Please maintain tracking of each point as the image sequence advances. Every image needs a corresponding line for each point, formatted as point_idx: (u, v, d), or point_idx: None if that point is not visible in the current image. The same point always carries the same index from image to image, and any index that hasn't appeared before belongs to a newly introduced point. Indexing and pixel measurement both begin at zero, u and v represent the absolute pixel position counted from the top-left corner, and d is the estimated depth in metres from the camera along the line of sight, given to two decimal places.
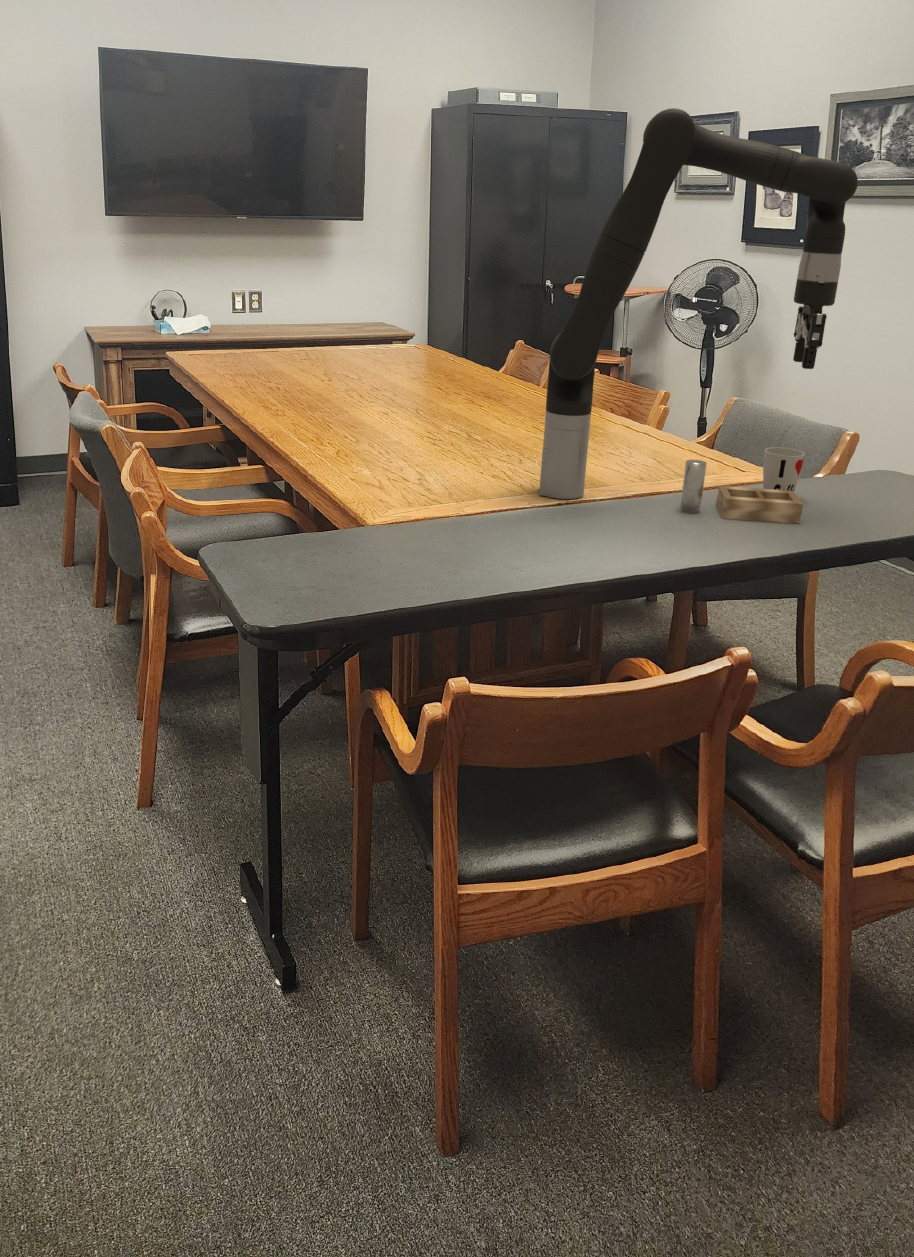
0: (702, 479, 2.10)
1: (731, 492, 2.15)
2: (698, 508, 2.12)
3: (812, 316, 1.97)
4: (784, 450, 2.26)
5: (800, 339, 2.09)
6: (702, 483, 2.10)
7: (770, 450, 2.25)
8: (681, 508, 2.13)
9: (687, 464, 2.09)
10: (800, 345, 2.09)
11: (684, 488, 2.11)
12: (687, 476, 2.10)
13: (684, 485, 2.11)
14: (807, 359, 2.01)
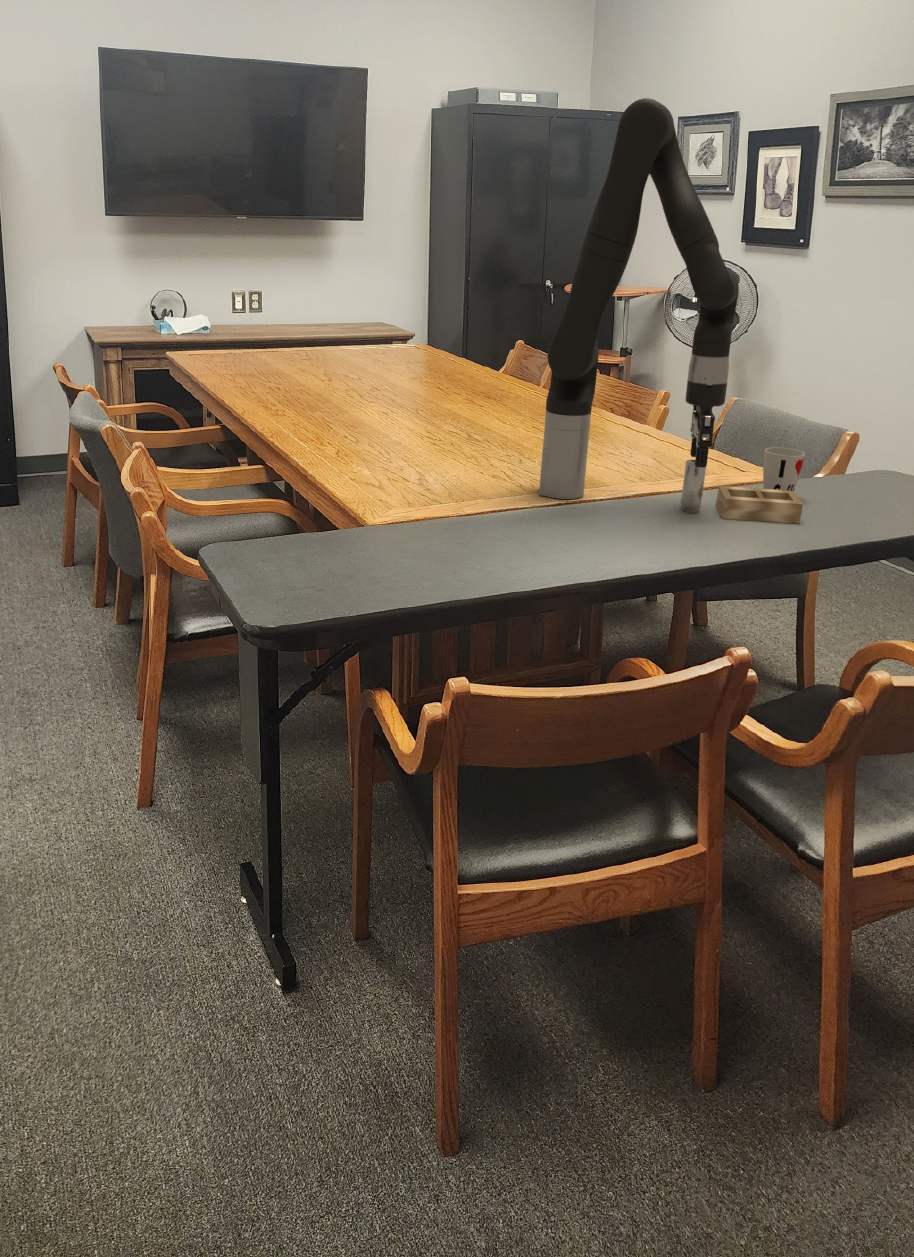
0: (702, 479, 2.10)
1: (731, 492, 2.15)
2: (698, 508, 2.12)
3: (701, 418, 2.00)
4: (784, 450, 2.26)
5: None
6: (702, 483, 2.10)
7: (770, 450, 2.25)
8: (681, 508, 2.13)
9: (687, 464, 2.09)
10: (696, 441, 2.12)
11: (684, 488, 2.11)
12: (687, 476, 2.10)
13: (684, 485, 2.11)
14: (699, 458, 2.04)
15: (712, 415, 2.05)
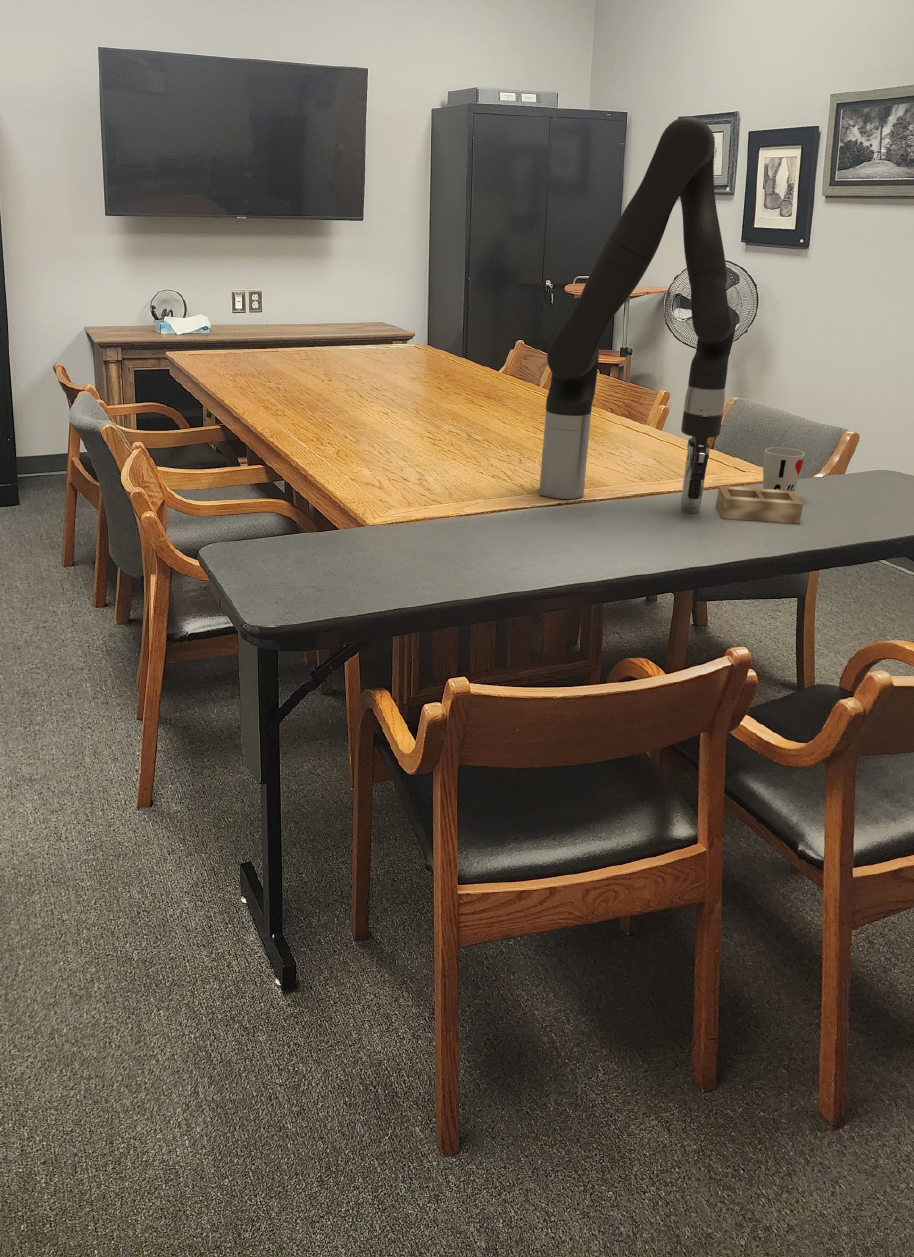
0: None
1: (731, 492, 2.15)
2: (698, 508, 2.12)
3: (695, 456, 2.03)
4: (784, 450, 2.26)
5: None
6: (702, 483, 2.10)
7: (770, 450, 2.25)
8: (681, 508, 2.13)
9: (687, 464, 2.09)
10: None
11: (684, 488, 2.11)
12: (687, 476, 2.10)
13: (684, 485, 2.11)
14: (692, 490, 2.09)
15: (707, 446, 2.07)
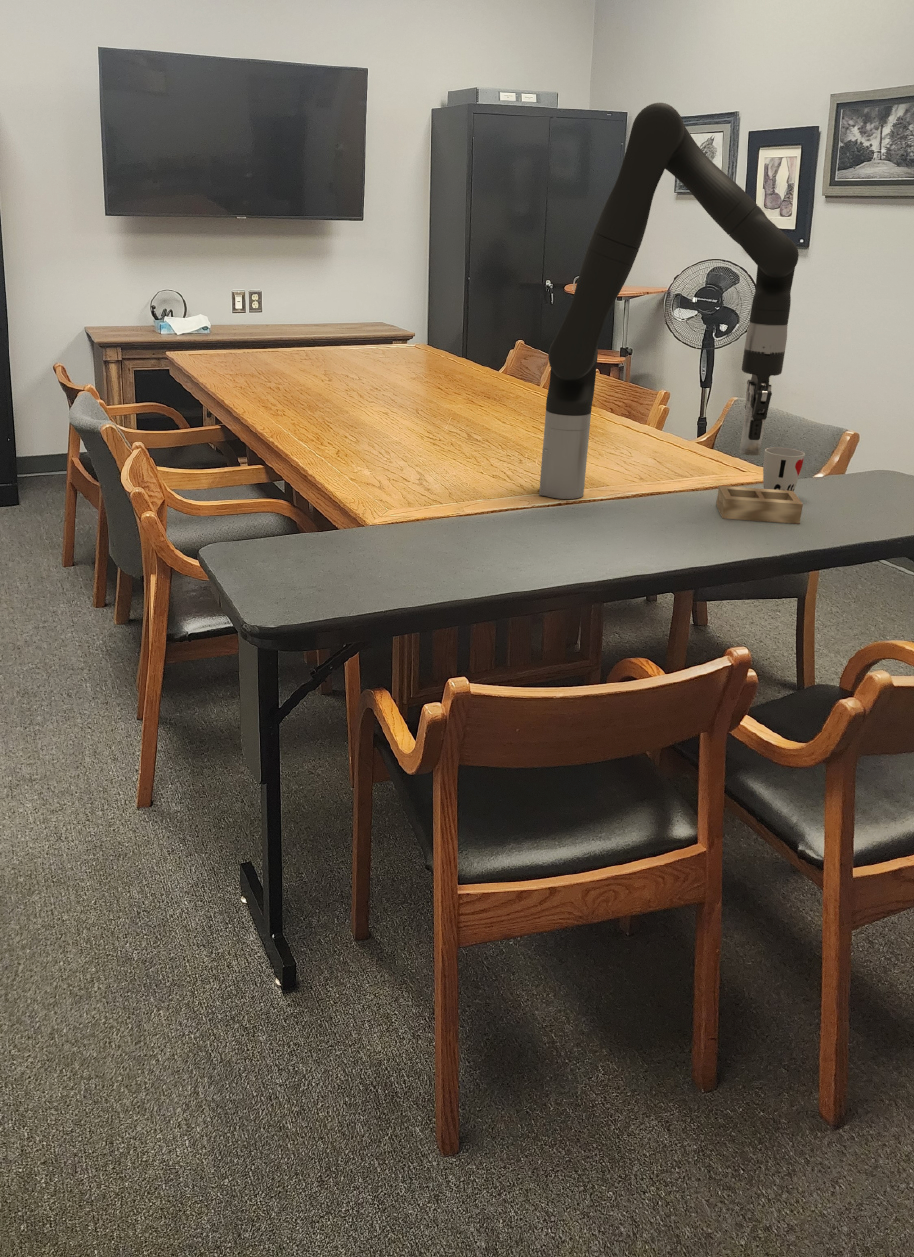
0: None
1: (731, 492, 2.15)
2: (758, 449, 2.07)
3: (757, 394, 1.99)
4: (784, 450, 2.26)
5: None
6: (763, 424, 2.06)
7: (770, 450, 2.25)
8: (741, 450, 2.08)
9: (748, 404, 2.05)
10: None
11: (744, 429, 2.07)
12: (748, 417, 2.05)
13: (744, 426, 2.07)
14: (753, 431, 2.04)
15: (769, 385, 2.02)
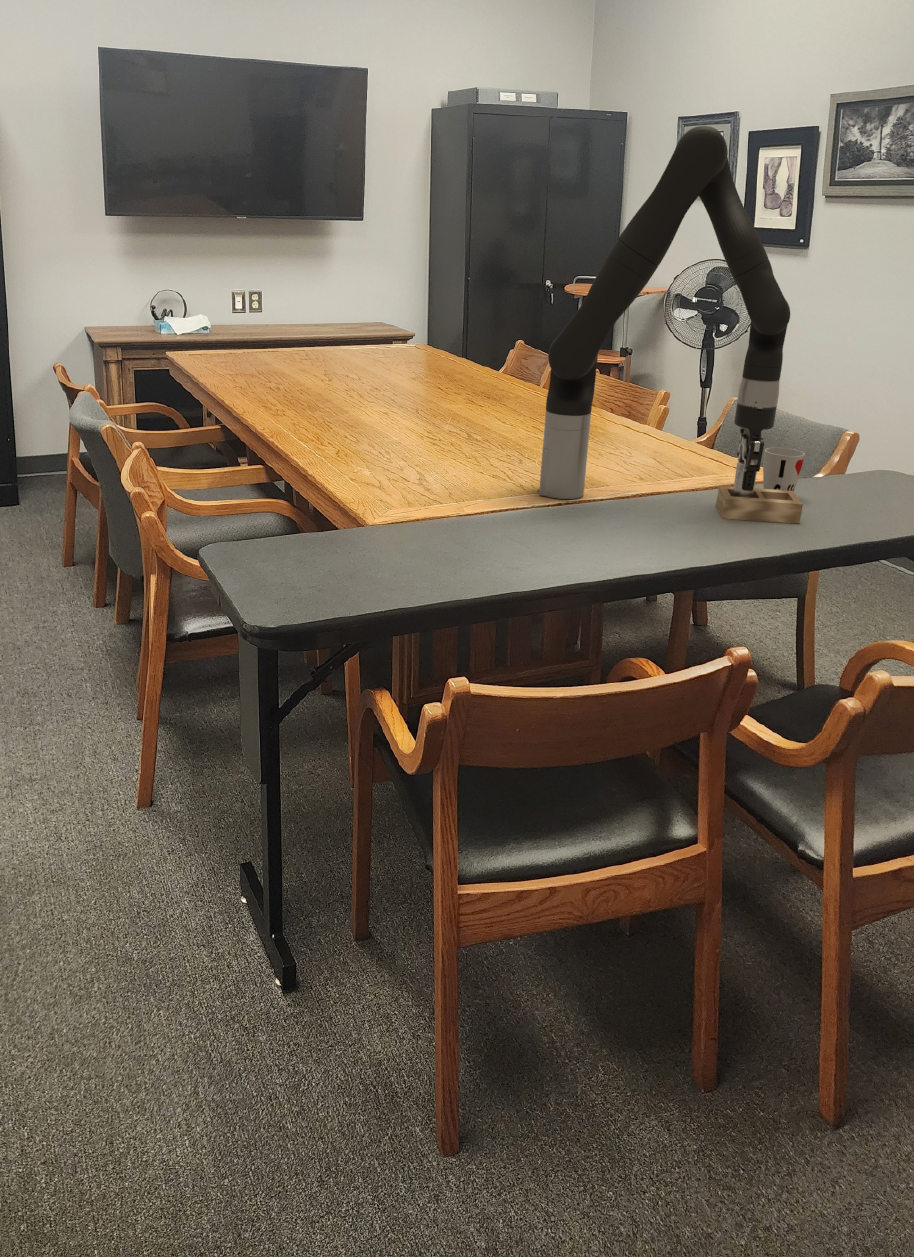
0: None
1: (731, 492, 2.15)
2: None
3: (750, 444, 2.02)
4: (784, 450, 2.26)
5: (742, 460, 2.13)
6: None
7: (770, 450, 2.25)
8: None
9: (738, 466, 2.10)
10: None
11: (735, 490, 2.11)
12: (738, 478, 2.10)
13: (735, 487, 2.11)
14: (746, 482, 2.07)
15: (761, 438, 2.06)
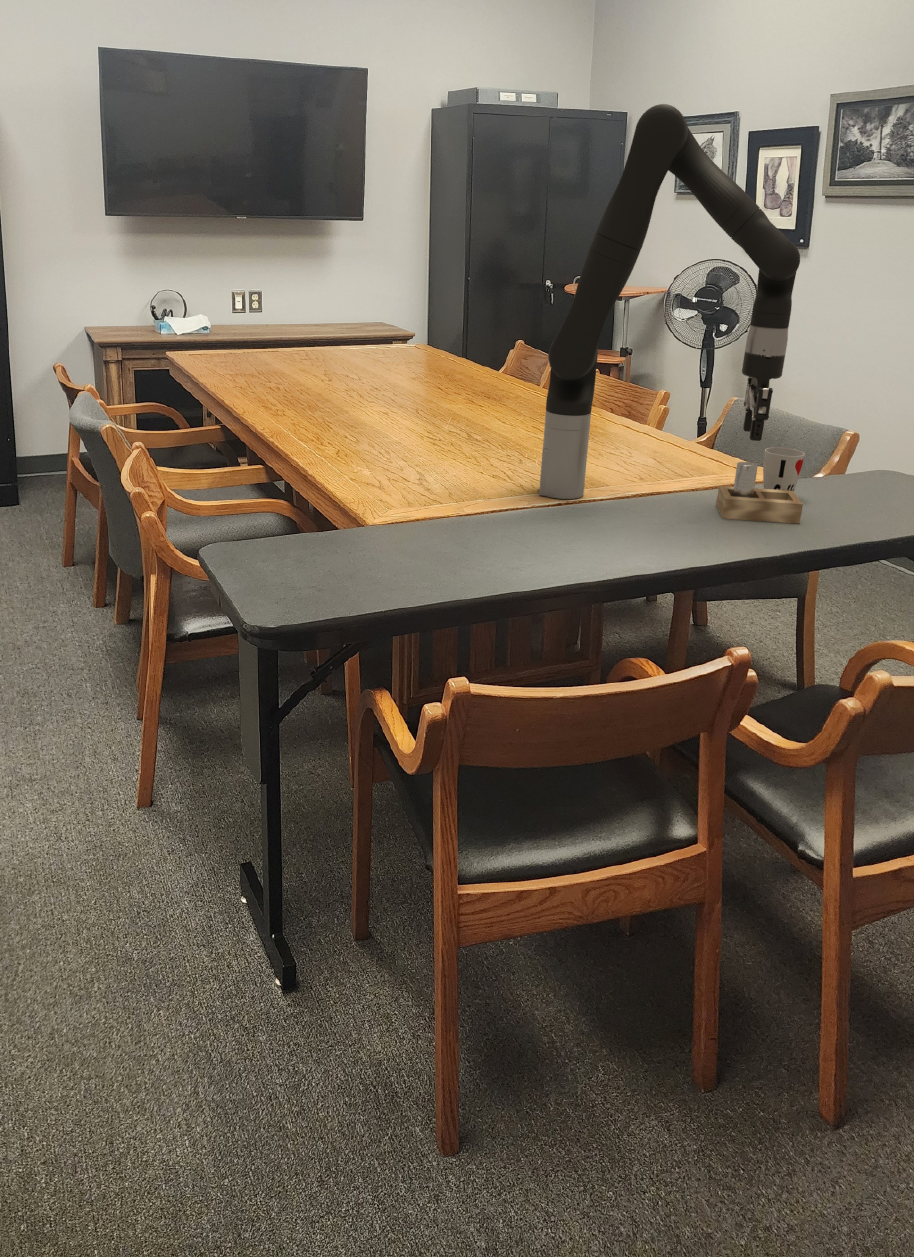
0: (753, 481, 2.10)
1: (731, 492, 2.15)
2: None
3: (758, 390, 1.98)
4: (784, 450, 2.26)
5: (749, 409, 2.10)
6: (753, 485, 2.10)
7: (770, 450, 2.25)
8: None
9: (738, 466, 2.10)
10: (749, 415, 2.10)
11: (735, 490, 2.11)
12: (739, 478, 2.10)
13: (735, 487, 2.11)
14: (754, 431, 2.02)
15: None
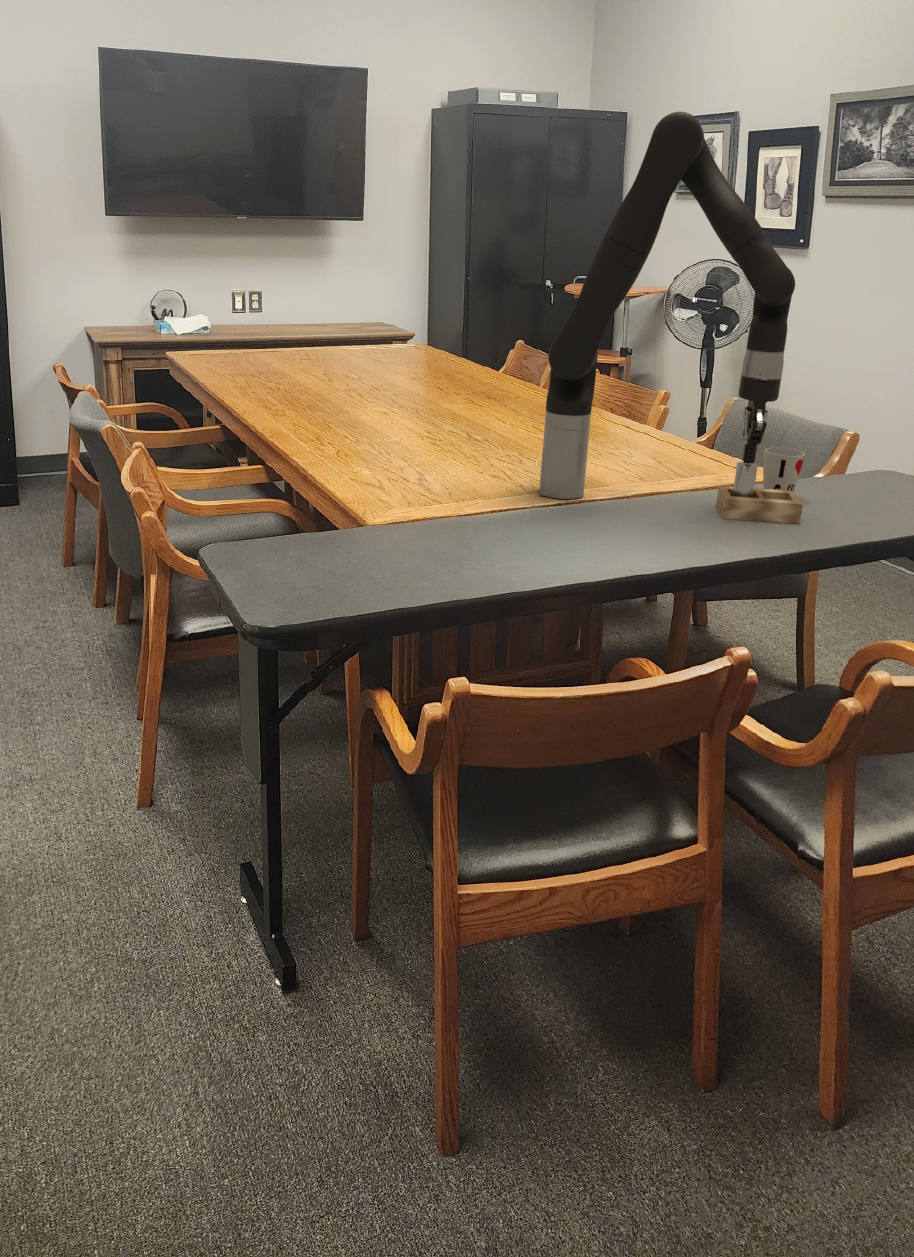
0: (753, 481, 2.10)
1: (731, 492, 2.15)
2: None
3: (752, 424, 2.01)
4: (784, 450, 2.26)
5: None
6: (753, 485, 2.10)
7: (770, 450, 2.25)
8: None
9: (738, 466, 2.10)
10: None
11: (735, 490, 2.11)
12: (738, 478, 2.10)
13: (735, 487, 2.11)
14: (747, 454, 2.08)
15: (765, 412, 2.04)
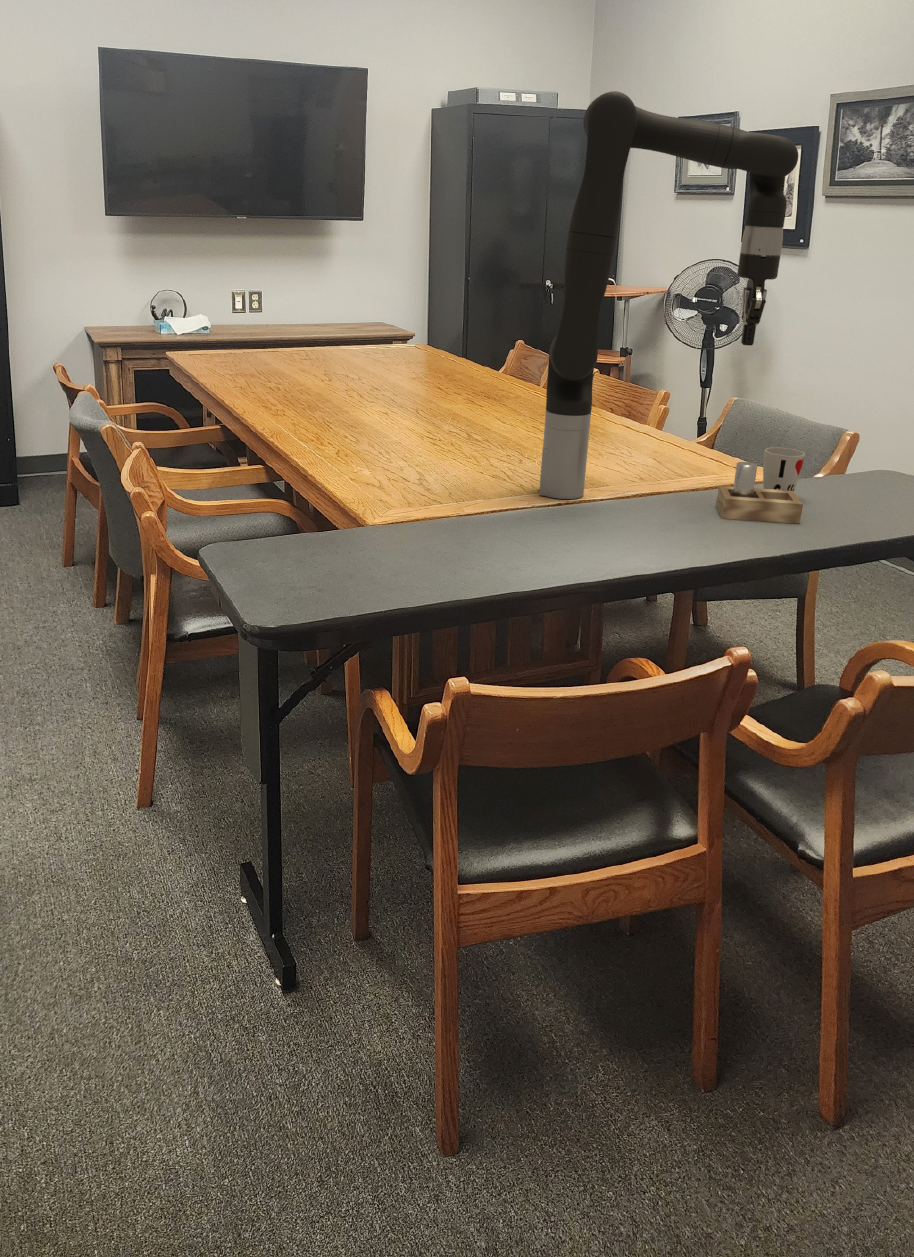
0: (753, 481, 2.10)
1: (731, 492, 2.15)
2: None
3: (751, 302, 2.01)
4: (784, 450, 2.26)
5: None
6: (753, 485, 2.10)
7: (770, 450, 2.25)
8: None
9: (738, 466, 2.09)
10: None
11: (735, 490, 2.11)
12: (738, 478, 2.10)
13: (734, 487, 2.11)
14: (746, 336, 2.07)
15: (764, 291, 2.03)
